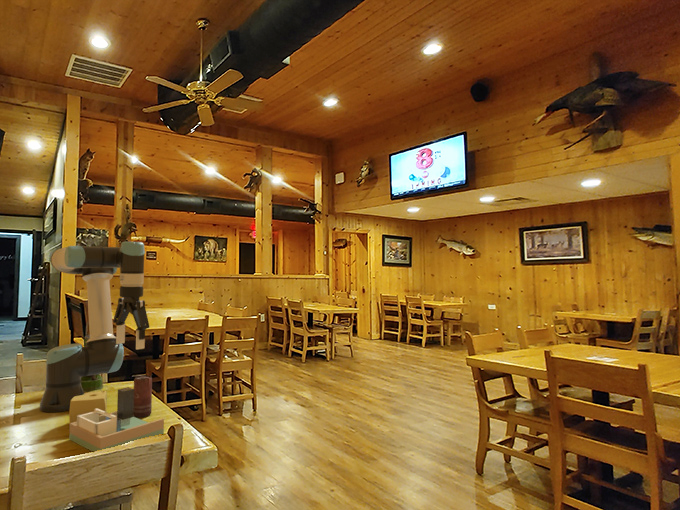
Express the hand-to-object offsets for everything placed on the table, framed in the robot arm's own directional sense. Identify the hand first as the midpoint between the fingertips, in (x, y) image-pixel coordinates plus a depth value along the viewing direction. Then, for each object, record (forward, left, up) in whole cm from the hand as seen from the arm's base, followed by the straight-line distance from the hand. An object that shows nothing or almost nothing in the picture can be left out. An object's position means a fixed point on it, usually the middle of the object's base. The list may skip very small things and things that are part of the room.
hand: (130, 346), depth 155 cm
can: (-3, +7, -27) cm, 28 cm away
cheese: (-9, -9, -27) cm, 30 cm away
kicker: (+10, -8, -24) cm, 27 cm away
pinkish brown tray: (+10, -9, -27) cm, 30 cm away
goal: (+10, -16, -25) cm, 31 cm away
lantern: (-55, +12, -27) cm, 62 cm away
